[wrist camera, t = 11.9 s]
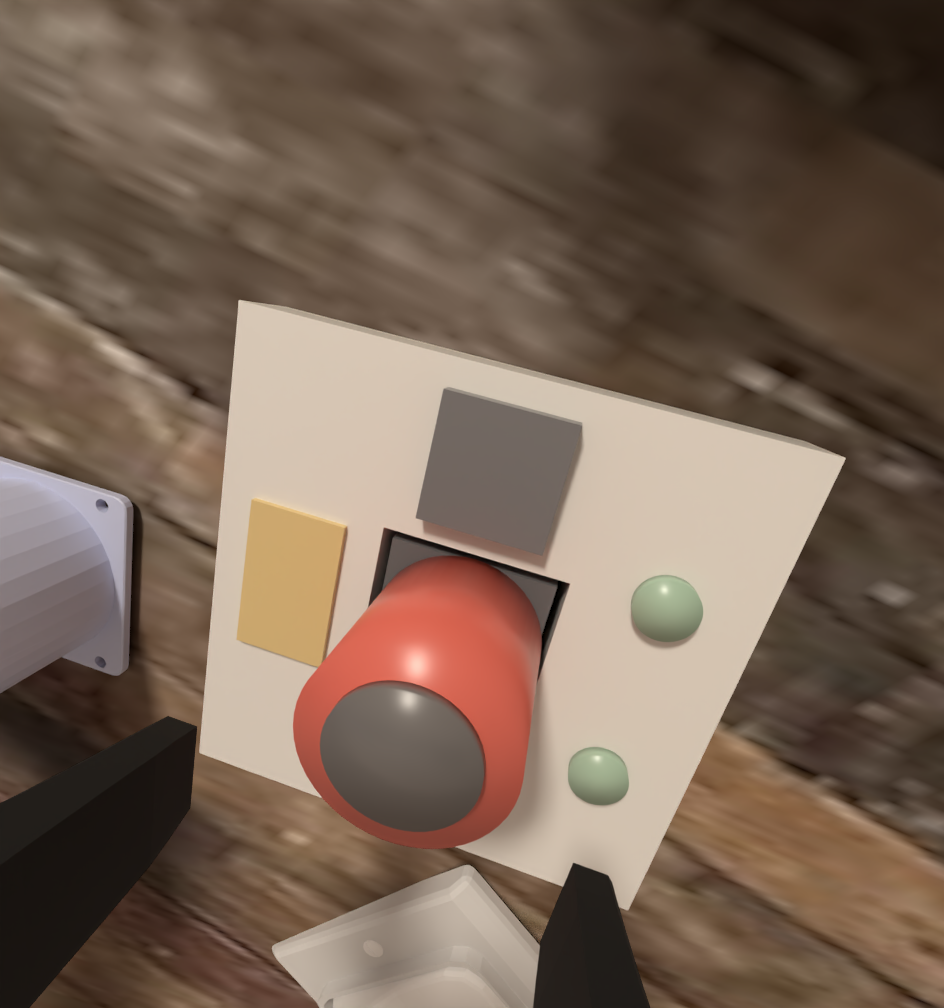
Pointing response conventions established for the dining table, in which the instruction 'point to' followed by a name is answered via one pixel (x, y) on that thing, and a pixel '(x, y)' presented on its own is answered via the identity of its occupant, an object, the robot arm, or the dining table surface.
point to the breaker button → (417, 549)
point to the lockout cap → (426, 706)
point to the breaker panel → (502, 561)
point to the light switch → (419, 950)
